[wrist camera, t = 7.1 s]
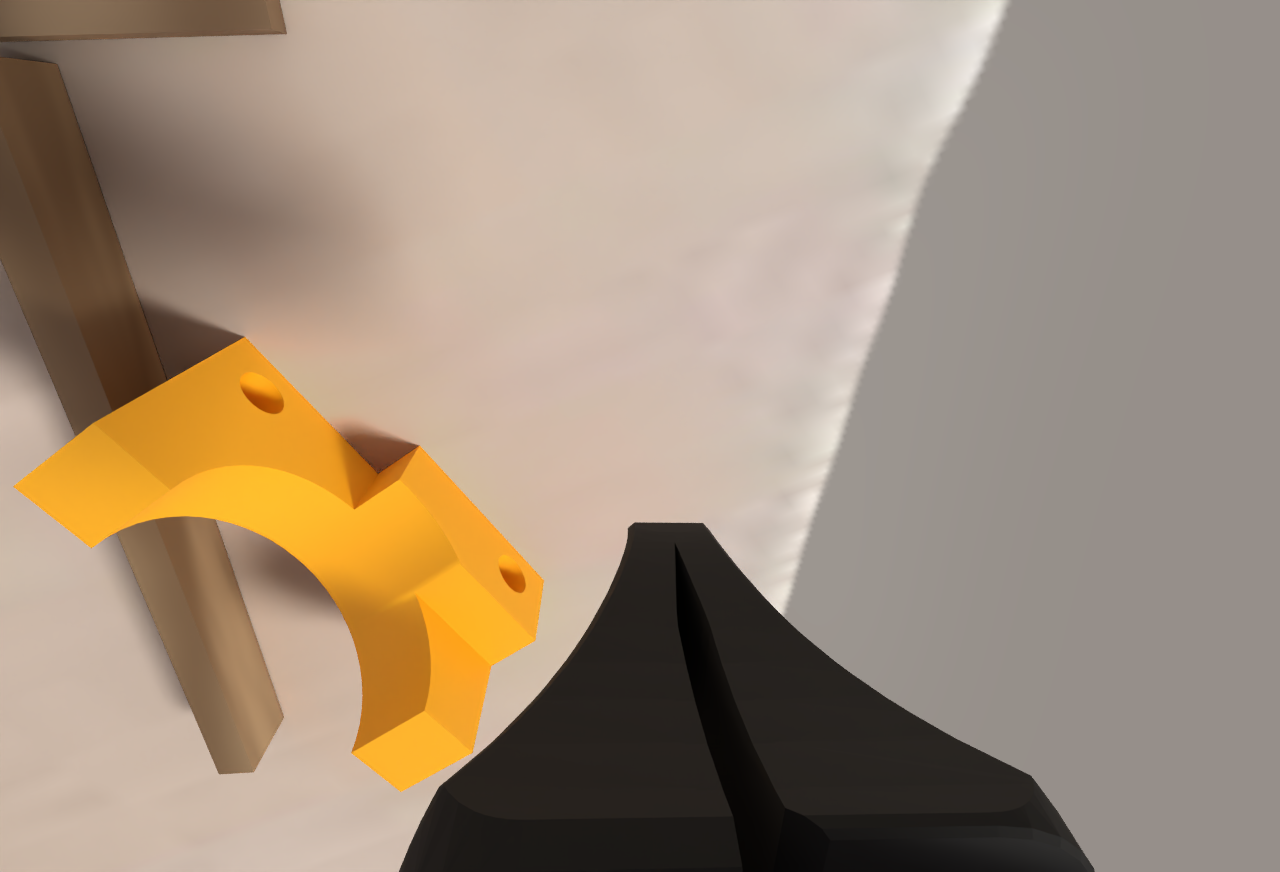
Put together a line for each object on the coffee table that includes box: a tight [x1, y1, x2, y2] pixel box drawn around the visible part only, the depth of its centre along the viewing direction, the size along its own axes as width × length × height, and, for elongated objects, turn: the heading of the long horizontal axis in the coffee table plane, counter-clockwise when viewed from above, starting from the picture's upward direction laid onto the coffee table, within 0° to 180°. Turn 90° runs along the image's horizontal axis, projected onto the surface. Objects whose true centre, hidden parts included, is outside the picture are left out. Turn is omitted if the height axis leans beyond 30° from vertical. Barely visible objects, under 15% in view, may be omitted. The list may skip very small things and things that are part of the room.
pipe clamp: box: [13, 337, 544, 792], centre depth 19 cm, size 12×4×6 cm, turn 34°
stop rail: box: [0, 57, 284, 774], centre depth 20 cm, size 1×22×2 cm, turn 2°
